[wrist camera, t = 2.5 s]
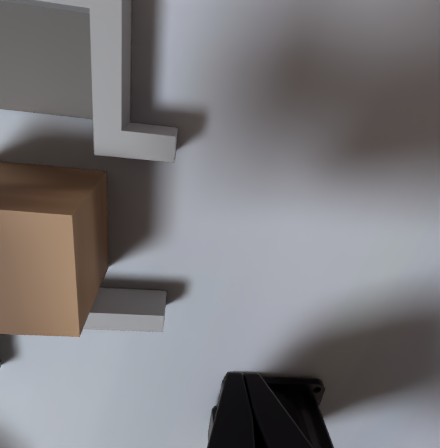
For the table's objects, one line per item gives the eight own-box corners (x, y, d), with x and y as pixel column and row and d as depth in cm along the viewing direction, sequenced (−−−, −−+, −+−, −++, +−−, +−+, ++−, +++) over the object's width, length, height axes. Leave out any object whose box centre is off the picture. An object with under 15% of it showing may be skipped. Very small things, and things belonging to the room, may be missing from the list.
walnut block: (107, 170, 15) (71, 215, 11) (108, 266, 17) (79, 336, 13) (-13, 159, 15) (-103, 201, 10) (3, 259, 17) (-66, 331, 12)
